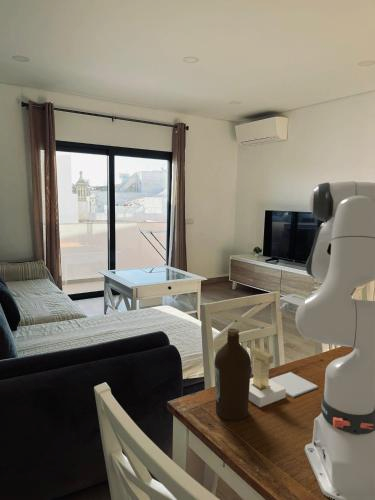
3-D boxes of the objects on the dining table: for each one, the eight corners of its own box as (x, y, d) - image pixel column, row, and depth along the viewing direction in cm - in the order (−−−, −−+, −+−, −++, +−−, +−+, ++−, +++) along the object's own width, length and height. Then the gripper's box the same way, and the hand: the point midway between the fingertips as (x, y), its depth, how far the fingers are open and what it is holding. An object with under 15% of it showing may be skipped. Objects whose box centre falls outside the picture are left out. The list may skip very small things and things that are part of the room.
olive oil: (248, 403, 111) (250, 324, 108) (251, 423, 101) (253, 337, 98) (214, 401, 112) (215, 323, 109) (213, 421, 102) (214, 335, 99)
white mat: (317, 387, 121) (317, 385, 121) (292, 397, 114) (292, 395, 114) (290, 373, 131) (290, 372, 131) (265, 381, 124) (265, 380, 124)
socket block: (285, 397, 114) (285, 388, 114) (259, 407, 109) (259, 398, 108) (261, 383, 124) (261, 374, 123) (236, 391, 118) (236, 382, 118)
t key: (273, 398, 114) (274, 355, 112) (265, 401, 112) (266, 357, 110) (255, 387, 120) (257, 346, 119) (248, 390, 119) (249, 348, 117)
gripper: (294, 287, 135) (268, 297, 127) (344, 302, 118) (318, 315, 111) (293, 303, 136) (268, 313, 129) (343, 320, 120) (317, 334, 112)
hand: (291, 314), depth 119 cm, fingers open, 8 cm apart
